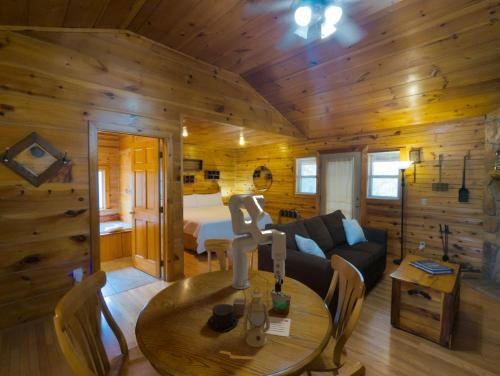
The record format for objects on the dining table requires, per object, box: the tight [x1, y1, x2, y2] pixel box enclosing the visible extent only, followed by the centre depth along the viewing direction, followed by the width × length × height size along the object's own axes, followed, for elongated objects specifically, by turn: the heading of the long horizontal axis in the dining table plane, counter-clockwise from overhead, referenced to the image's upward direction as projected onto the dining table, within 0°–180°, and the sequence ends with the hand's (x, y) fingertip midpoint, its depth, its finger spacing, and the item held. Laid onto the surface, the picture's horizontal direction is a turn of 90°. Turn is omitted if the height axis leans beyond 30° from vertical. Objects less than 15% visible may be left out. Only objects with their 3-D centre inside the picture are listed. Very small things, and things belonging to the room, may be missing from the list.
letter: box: [262, 316, 292, 338], centre depth 119 cm, size 14×12×1 cm
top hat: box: [207, 303, 239, 333], centre depth 122 cm, size 15×15×10 cm
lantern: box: [242, 272, 270, 348], centre depth 107 cm, size 12×10×30 cm
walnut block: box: [232, 297, 247, 316], centre depth 131 cm, size 6×6×6 cm
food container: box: [270, 287, 292, 315], centre depth 131 cm, size 12×6×10 cm, turn 47°
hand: (279, 287), depth 130 cm, fingers open, 9 cm apart
